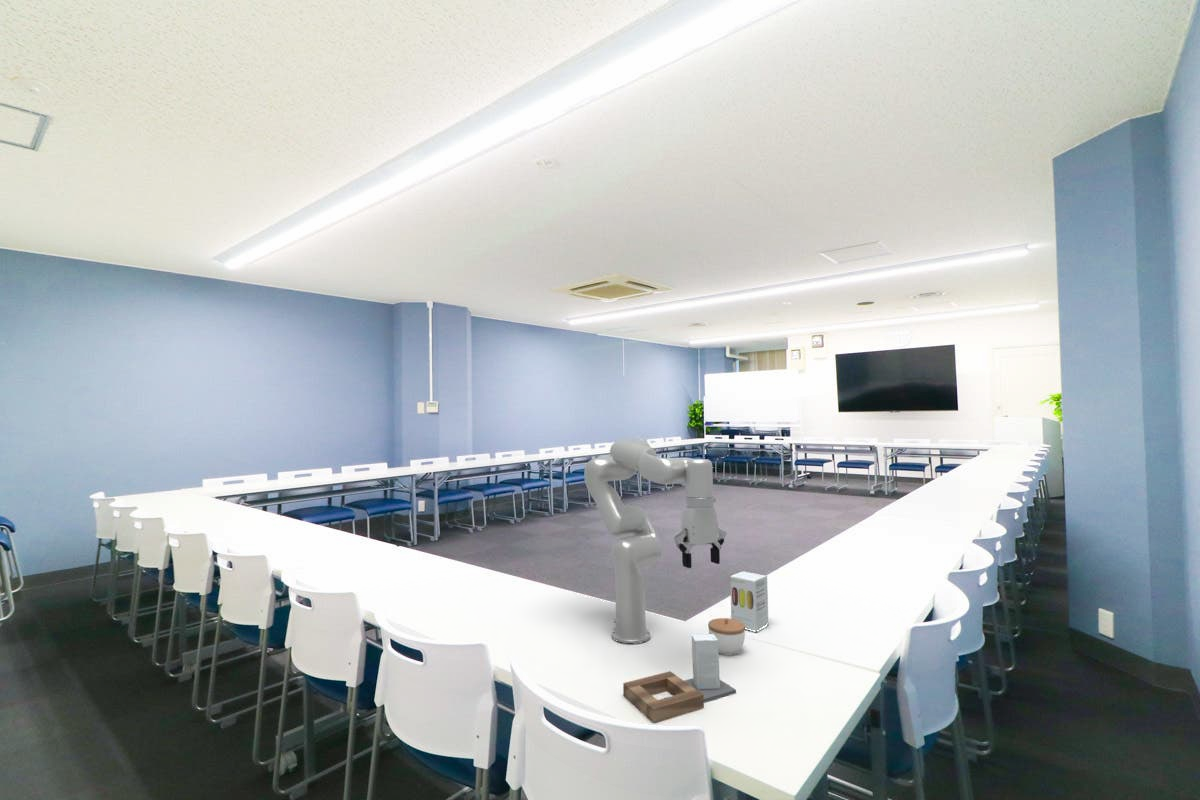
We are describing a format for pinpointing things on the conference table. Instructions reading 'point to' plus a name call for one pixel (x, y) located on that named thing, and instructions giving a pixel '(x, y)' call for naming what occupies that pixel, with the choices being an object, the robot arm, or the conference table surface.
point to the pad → (714, 690)
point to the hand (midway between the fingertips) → (701, 565)
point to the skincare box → (705, 661)
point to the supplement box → (749, 599)
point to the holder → (665, 708)
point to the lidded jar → (728, 634)
